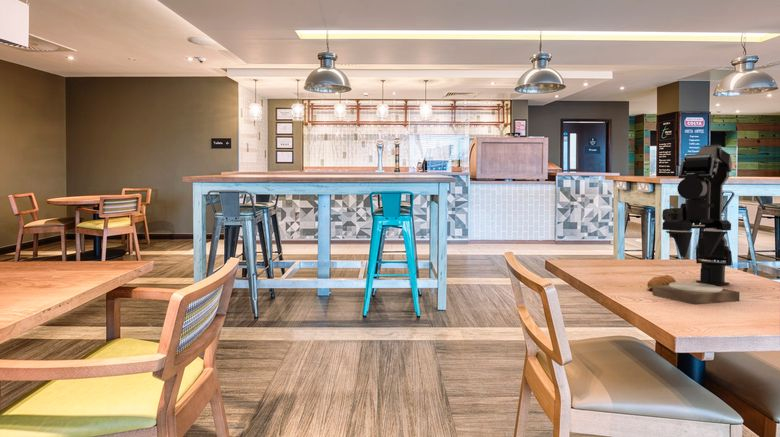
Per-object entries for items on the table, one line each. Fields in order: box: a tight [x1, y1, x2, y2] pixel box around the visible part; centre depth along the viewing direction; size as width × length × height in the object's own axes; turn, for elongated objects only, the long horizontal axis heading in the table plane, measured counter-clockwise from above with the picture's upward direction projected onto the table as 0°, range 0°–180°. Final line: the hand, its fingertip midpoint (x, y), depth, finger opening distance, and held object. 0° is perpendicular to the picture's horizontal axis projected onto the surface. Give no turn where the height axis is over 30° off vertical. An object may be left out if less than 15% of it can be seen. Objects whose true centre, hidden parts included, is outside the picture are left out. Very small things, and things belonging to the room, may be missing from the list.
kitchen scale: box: [652, 281, 741, 305], centre depth 131 cm, size 16×13×3 cm
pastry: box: [646, 274, 677, 289], centre depth 142 cm, size 9×7×4 cm
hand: (695, 256), depth 131 cm, fingers open, 9 cm apart
